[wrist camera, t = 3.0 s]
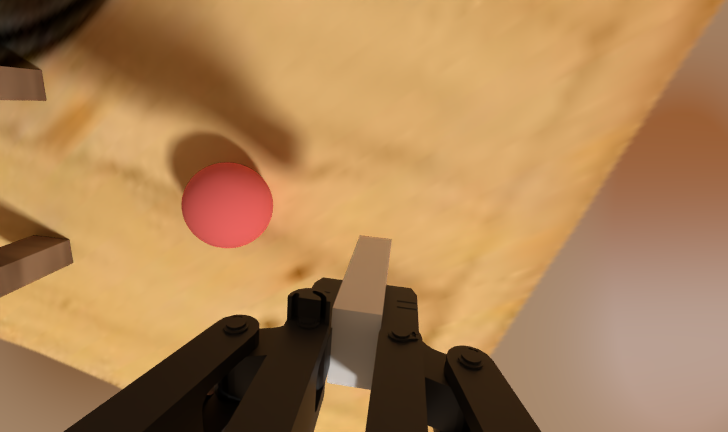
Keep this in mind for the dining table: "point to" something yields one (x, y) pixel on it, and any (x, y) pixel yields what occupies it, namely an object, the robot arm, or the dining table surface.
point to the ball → (227, 205)
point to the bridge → (36, 253)
